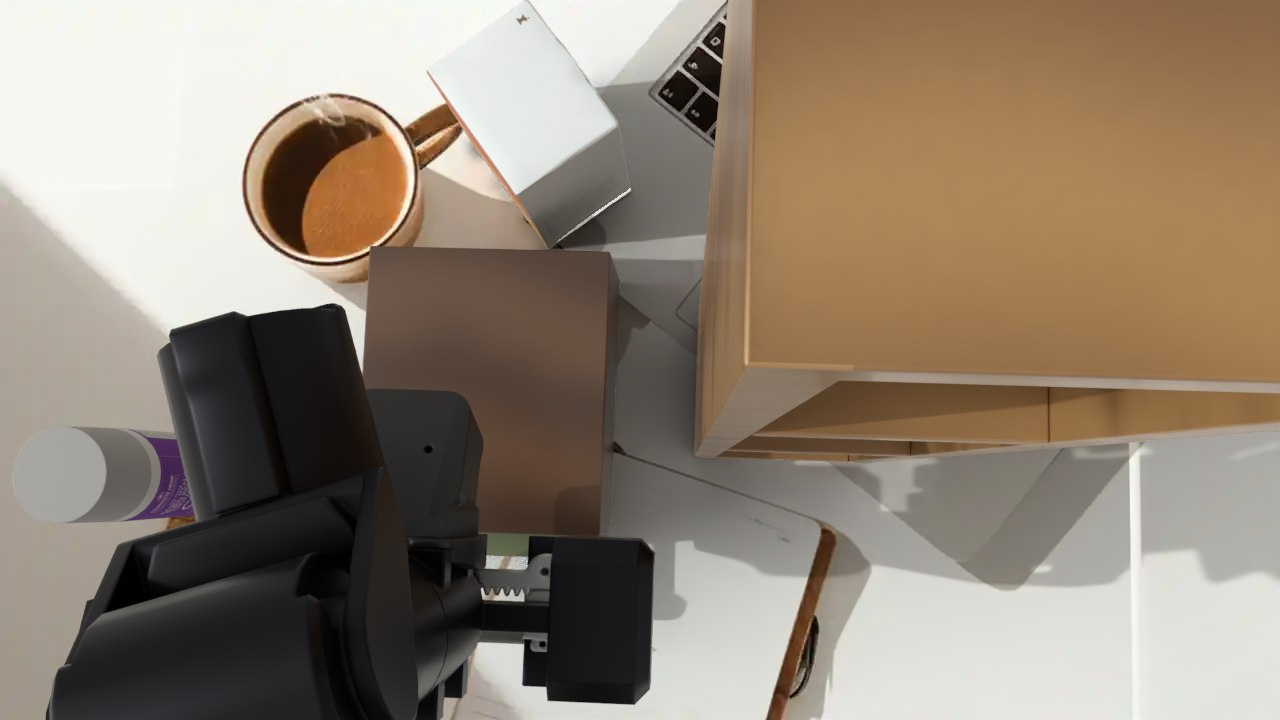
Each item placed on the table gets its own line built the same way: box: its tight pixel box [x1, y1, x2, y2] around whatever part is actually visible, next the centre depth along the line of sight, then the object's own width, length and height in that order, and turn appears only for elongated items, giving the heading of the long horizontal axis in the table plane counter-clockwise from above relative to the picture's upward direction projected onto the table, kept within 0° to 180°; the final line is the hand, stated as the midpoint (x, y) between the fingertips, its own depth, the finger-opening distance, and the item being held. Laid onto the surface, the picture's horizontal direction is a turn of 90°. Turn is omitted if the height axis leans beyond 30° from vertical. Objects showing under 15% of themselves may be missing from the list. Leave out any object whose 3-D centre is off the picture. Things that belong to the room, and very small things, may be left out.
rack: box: [693, 0, 1280, 464], centre depth 37 cm, size 8×10×52 cm
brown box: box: [361, 245, 621, 537], centre depth 59 cm, size 15×13×9 cm
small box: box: [426, 0, 631, 250], centre depth 59 cm, size 8×6×13 cm
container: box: [11, 425, 195, 525], centre depth 56 cm, size 5×5×15 cm
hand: (459, 588), depth 51 cm, fingers open, 7 cm apart
